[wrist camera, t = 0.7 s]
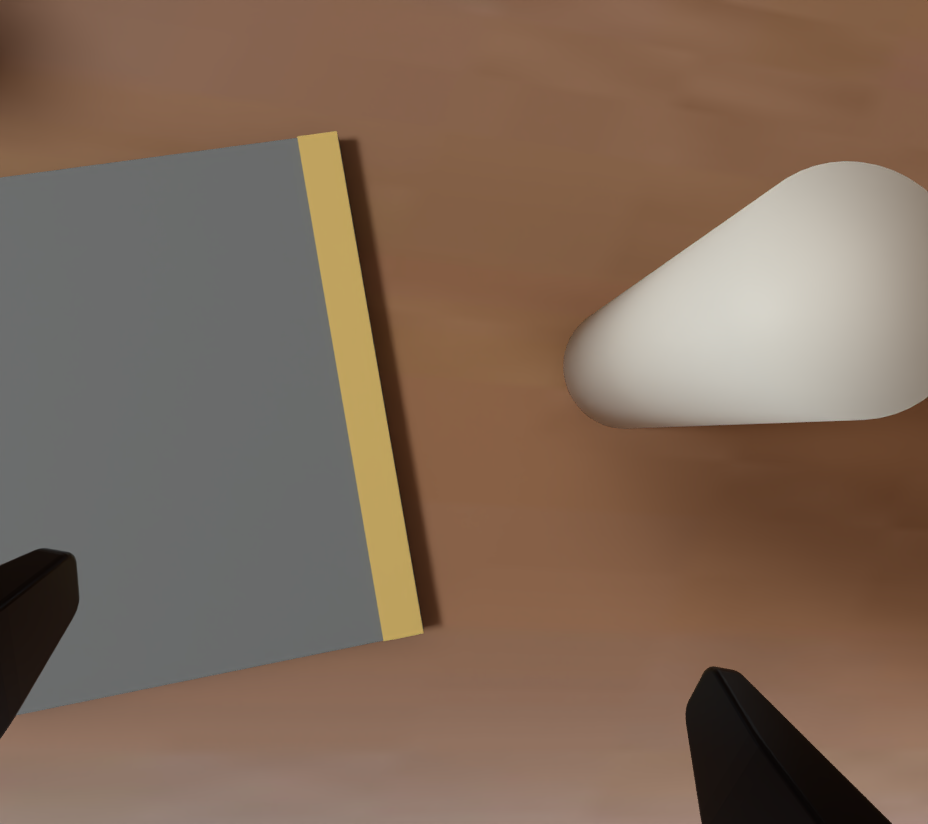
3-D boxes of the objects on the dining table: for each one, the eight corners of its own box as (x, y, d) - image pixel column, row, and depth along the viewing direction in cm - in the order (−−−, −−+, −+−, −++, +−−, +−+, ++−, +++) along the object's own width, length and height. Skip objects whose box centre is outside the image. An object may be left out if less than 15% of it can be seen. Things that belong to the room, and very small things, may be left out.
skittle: (693, 417, 23) (999, 395, 11) (575, 438, 22) (756, 441, 10) (671, 297, 23) (948, 145, 11) (553, 316, 22) (707, 180, 11)
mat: (423, 627, 22) (423, 633, 21) (16, 710, 20) (4, 718, 20) (338, 139, 22) (336, 131, 22) (-64, 193, 21) (-78, 186, 20)
